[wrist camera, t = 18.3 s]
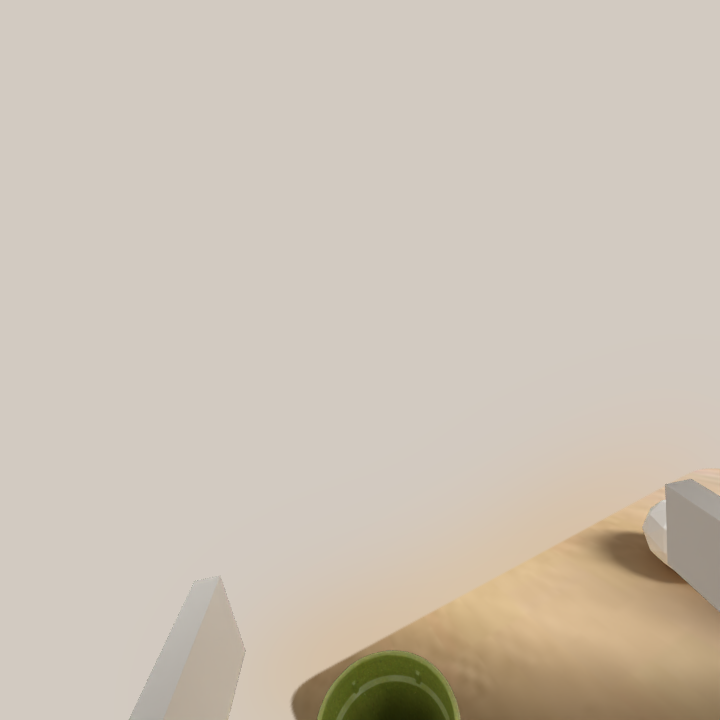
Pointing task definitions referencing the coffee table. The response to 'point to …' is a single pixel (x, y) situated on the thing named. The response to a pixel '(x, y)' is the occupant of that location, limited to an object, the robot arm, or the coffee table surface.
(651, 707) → the coffee table surface
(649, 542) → the geometric ball
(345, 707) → the plant pot
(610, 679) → the coffee table surface
